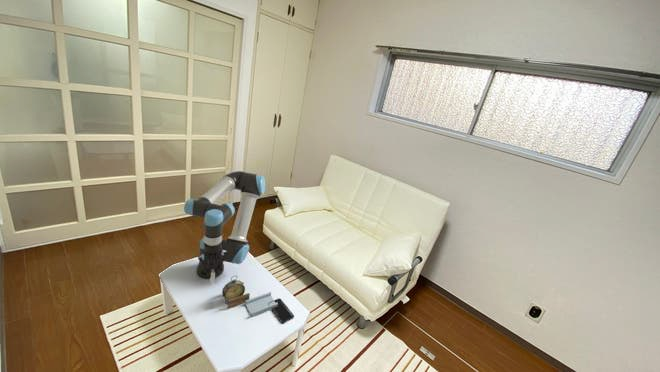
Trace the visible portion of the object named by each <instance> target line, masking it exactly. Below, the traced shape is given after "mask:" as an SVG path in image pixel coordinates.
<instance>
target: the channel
mask: <svg viewBox="0 0 660 372" xmlns="http://www.w3.org/2000/svg"><path fill="white" fill-rule="evenodd" d="M241 282H242V283H243V285H244V281H241ZM221 294H222V293H221ZM250 295H251V294H250V293H248V292H247V293H244V294H243V295H241V296H238V297H236V298H233V299H230V300H228V302H227V309H228V310H230V309H232V308H236V307H237V306H241V305H243V304H244V305H245V301H246V300H249V299H250ZM222 297H223V298H224V296H223V294H222Z"/></svg>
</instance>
